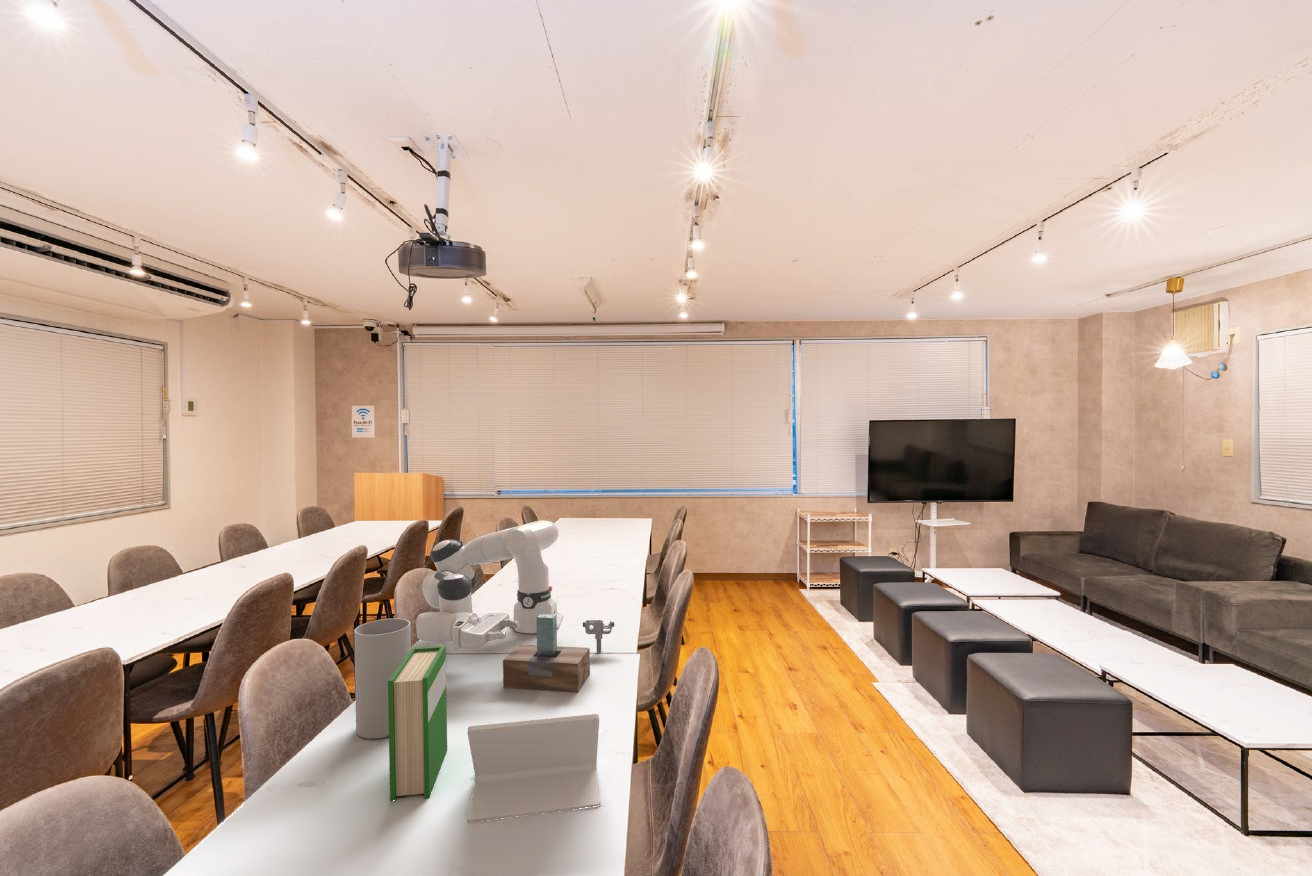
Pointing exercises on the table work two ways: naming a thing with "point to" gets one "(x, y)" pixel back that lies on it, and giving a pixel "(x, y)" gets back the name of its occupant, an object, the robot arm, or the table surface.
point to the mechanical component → (597, 630)
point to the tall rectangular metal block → (546, 635)
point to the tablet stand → (534, 767)
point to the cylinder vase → (377, 671)
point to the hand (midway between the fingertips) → (511, 630)
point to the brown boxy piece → (546, 669)
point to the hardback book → (417, 721)
